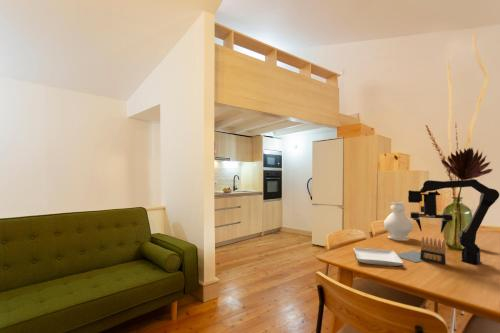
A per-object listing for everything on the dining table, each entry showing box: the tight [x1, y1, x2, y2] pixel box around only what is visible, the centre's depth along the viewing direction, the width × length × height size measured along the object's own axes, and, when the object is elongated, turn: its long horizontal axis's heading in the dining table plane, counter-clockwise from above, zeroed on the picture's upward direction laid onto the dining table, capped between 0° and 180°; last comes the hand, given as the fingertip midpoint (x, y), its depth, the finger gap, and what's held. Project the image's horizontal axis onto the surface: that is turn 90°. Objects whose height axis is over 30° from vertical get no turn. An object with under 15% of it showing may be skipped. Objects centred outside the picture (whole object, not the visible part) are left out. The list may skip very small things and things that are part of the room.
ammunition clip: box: [420, 236, 447, 265], centre depth 137 cm, size 11×2×12 cm, turn 49°
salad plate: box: [353, 247, 404, 267], centre depth 140 cm, size 21×21×3 cm
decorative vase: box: [383, 201, 414, 242], centre depth 185 cm, size 18×18×25 cm
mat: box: [396, 250, 425, 263], centre depth 145 cm, size 13×18×1 cm
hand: (431, 231), depth 145 cm, fingers open, 9 cm apart
